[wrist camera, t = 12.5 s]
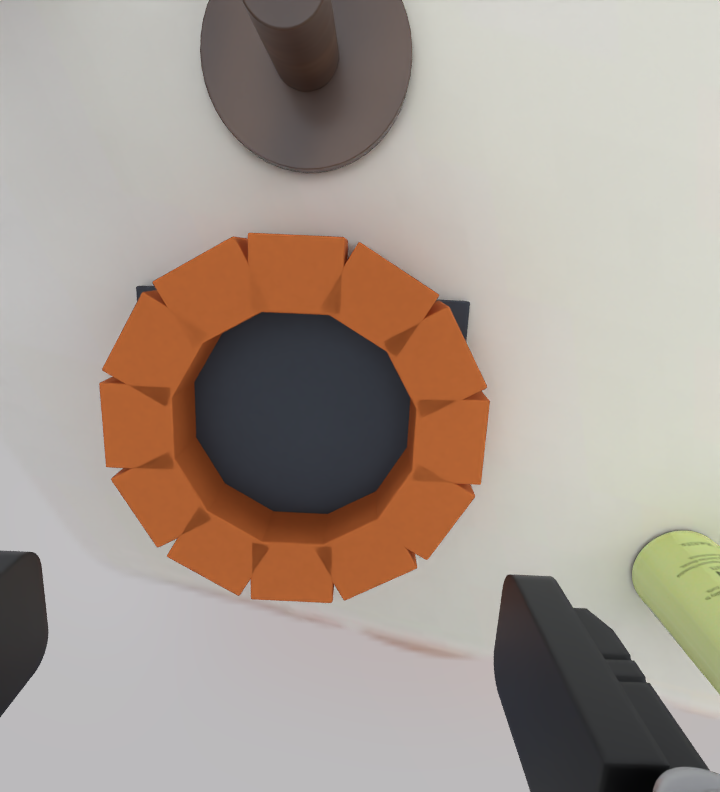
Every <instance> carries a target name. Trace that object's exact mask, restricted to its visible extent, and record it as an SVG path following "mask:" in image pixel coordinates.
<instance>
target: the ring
mask: <svg viewBox="0 0 720 792" xmlns="http://www.w3.org/2000/svg"><path fill="white" fill-rule="evenodd" d="M347 253H348V240H347V239H345V238H344V237H331V236H309V235H287V234H265V233H248V239H246V238H240V237H231V238H229V239H227V240H226V241H224V242H222V243H220V244H219V245H217V246H215V247H213V248H211V249H210V250H208V251H206V252H204V253H203V254H201V255H199V256H197V257H195V258H194V259H192V260H190V261H188V262H187V263H185V264H183V265H181V266H179V267H178V268H176V269H174V270H172V271H171V272H169V273H167V274H165V275H164V276H162V277H160V278H158V279H156V280H155V281H153V284H154V286H155V288H156V289H157V290H153V291H147V292H142V294H141V296H140V298H139V300H138V301H137V303H136V305H135V307H134V309H133V311H132V313H131V315H130V317H129V319H128V321H127V322H126V324H125V326H124V328H123V330H122V332H121V334H120V336H119V338H118V340H117V342H116V344H115V345H114V347H113V349H112V351H111V353H110V355H109V357H108V359H107V361H106V363H105V365H104V367H103V368H102V370H103V371H104V372H106V373H108V374H109V375H111V376H113V377H111V378H109V379H107V380H105V381H103V382H100V384H99V385H100V397H101V410H102V422H103V434H104V447H105V459H106V467H114V468H123V469H122V470H121V471H120V472H118V473H117V474H116V475H115V476H114V477H113V478H112V479H111V480H112V482H113V483H114V485H115V486H116V488H117V489H118V491H119V492H120V494H121V495H122V496H123V498H124V499H125V501H126V502H127V504H128V505H129V507H130V508H131V510H132V511H133V513H134V514H135V516H136V517H137V519H138V520H139V521H140V523H141V524H142V526H143V527H144V529H145V530H146V532H147V533H148V535H149V536H150V538H151V539H152V541H153V542H154V544H155V545H156V546H157V547H160V546H162V545H164V544H166V543H168V542H171V541H173V540H175V539H177V540H176V542H175V543H174V545H173V546H172V548H171V550H170V551H169V553H168V555H167V557H169V558H170V559H172V560H174V561H176V562H178V563H180V564H181V565H183V566H185V567H187V568H189V569H190V570H192V571H194V572H196V573H198V574H200V575H201V576H203V577H205V578H207V579H209V580H211V581H212V582H214V583H216V584H218V585H220V586H221V587H223V588H225V589H227V590H229V591H231V592H232V593H234V594H236V595H238V596H239V595H240V594H241V592H242V591H243V589H244V588H245V586H246V585H247V583H248V582H249V580H250V579H251V599H259V600H279V601H300V602H321V603H332V600H333V591H334V585H335V586H336V588H337V590H338V591H339V593H340V595H341V596H342V598H343V600H347V599H349V598H352V597H354V596H356V595H358V594H360V593H363V592H365V591H367V590H369V589H372V588H374V587H376V586H378V585H381V584H383V583H385V582H387V581H390V580H392V579H394V578H396V577H399V576H401V575H403V574H405V573H408V572H410V571H412V570H414V569H416V568H417V564H416V557H415V554H417V555H419V556H420V557H422V558H424V559H426V560H427V559H428V558H429V557H430V556H431V554H432V553H433V552H434V550H435V549H436V548H437V547H438V545H439V544H440V543H441V541H442V540H443V539H444V537H445V536H446V535H447V533H448V532H449V531H450V529H451V528H452V527H453V525H454V524H455V523H456V521H457V520H458V519H459V517H460V516H461V515H462V513H463V512H464V511H465V509H466V508H467V507H468V506H469V504H470V503H471V502H472V500H473V499H474V498H475V494H474V492H473V490H472V488H471V485H470V484H477V485H480V484H481V477H482V468H483V459H484V449H485V440H486V431H487V422H488V413H489V403H490V401H489V400H488V399H487V397H486V396H485V395H484V394H483V393H482V390H484V389H486V388H487V385H486V383H485V381H484V379H483V377H482V375H481V373H480V371H479V368H478V366H477V364H476V362H475V360H474V358H473V356H472V354H471V352H470V349H469V347H468V345H467V343H466V341H465V339H464V337H463V335H462V333H461V331H460V328H459V326H458V324H457V322H456V320H455V318H454V316H453V314H452V312H451V309H450V307H449V306H447V305H445V304H444V303H442V302H441V301H436V300H437V298H438V297H439V294H437V293H436V292H434V291H433V290H431V289H430V288H428V287H427V286H425V285H424V284H422V283H421V282H419V281H418V280H416V279H415V278H413V277H412V276H410V275H409V274H407V273H406V272H404V271H403V270H401V269H400V268H398V267H397V266H395V265H394V264H392V263H391V262H389V261H387V260H386V259H384V258H383V257H381V256H380V255H378V254H377V253H375V252H374V251H372V250H371V249H369V248H368V247H366V246H365V245H363V244H362V243H360V242H359V243H358V244H357V246H356V247H355V249H354V251H353V252H352V254H351V255H350V257H349V259H348V260H347ZM435 301H436V302H435ZM261 312H272V313H294V314H316V315H330V316H331V317H333V318H335V319H336V320H338V321H339V322H341V323H342V324H344V325H346V326H347V327H349V328H350V329H352V330H353V331H355V332H357V333H358V334H360V335H361V336H363V337H364V338H366V339H368V340H369V341H371V342H372V343H374V344H375V345H377V346H379V347H380V348H382V349H383V350H385V351H386V352H387V353H388V355H389V357H390V359H391V361H392V363H393V365H394V367H395V369H396V371H397V373H398V375H399V377H400V379H401V381H402V383H403V384H404V386H405V388H406V390H407V392H408V394H409V396H410V411H409V425H408V440H407V448H406V449H405V451H404V452H403V454H402V455H401V457H400V458H399V459H398V461H397V462H396V464H395V465H394V467H393V468H392V469H391V471H390V472H389V474H388V475H387V476H386V478H385V479H384V481H383V482H382V484H381V485H380V486H379V488H378V489H377V491H375V492H373V493H371V494H369V495H367V496H365V497H363V498H360V499H358V500H356V501H354V502H352V503H350V504H348V505H346V506H344V507H341V508H339V509H337V510H335V511H333V512H331V513H329V514H318V513H296V512H275V511H272V510H270V509H269V508H267V507H265V506H263V505H262V504H260V503H258V502H256V501H255V500H253V499H251V498H249V497H248V496H246V495H244V494H242V493H241V492H239V491H237V490H236V489H234V488H232V487H230V486H229V485H227V484H225V483H224V481H223V479H222V478H221V476H220V475H219V473H218V471H217V470H216V468H215V467H214V465H213V463H212V462H211V460H210V459H209V457H208V455H207V454H206V452H205V451H204V449H203V447H202V446H201V444H200V443H199V441H198V439H197V438H196V416H195V388H194V382H195V380H196V378H197V377H198V375H199V373H200V371H201V370H202V368H203V366H204V364H205V363H206V361H207V359H208V357H209V356H210V354H211V352H212V350H213V349H214V347H215V345H216V343H217V342H218V340H219V338H220V336H221V335H222V333H224V332H226V331H228V330H229V329H231V328H233V327H235V326H237V325H239V324H241V323H242V322H244V321H246V320H248V319H250V318H252V317H254V316H255V315H257V314H259V313H261Z"/></svg>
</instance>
